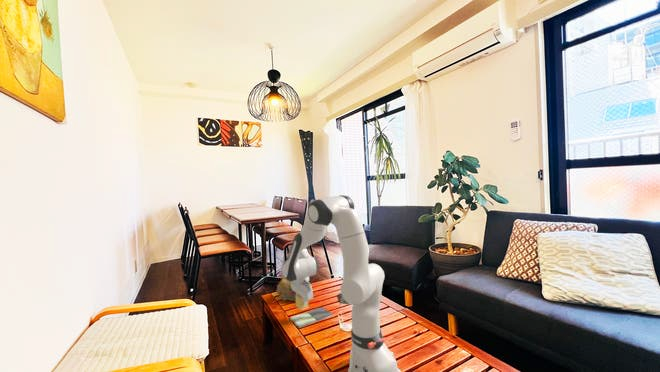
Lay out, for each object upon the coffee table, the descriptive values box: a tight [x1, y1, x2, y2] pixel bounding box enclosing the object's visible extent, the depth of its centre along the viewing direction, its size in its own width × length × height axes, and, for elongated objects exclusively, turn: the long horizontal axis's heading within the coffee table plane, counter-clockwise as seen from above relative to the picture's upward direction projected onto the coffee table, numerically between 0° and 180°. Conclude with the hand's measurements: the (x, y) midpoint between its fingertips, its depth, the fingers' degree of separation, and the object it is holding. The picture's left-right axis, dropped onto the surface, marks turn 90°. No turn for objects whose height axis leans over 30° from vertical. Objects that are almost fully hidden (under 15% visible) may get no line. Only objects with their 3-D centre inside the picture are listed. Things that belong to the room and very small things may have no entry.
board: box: [289, 306, 334, 329], centre depth 149 cm, size 12×21×1 cm, turn 122°
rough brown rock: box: [275, 276, 296, 303], centre depth 175 cm, size 23×17×15 cm
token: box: [295, 295, 309, 310], centre depth 147 cm, size 5×5×6 cm
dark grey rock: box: [336, 292, 350, 305], centre depth 173 cm, size 19×4×15 cm
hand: (301, 302), depth 147 cm, fingers closed on token, 5 cm apart
